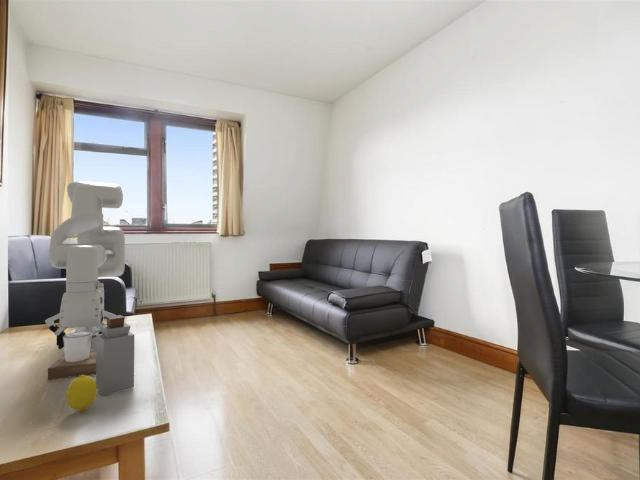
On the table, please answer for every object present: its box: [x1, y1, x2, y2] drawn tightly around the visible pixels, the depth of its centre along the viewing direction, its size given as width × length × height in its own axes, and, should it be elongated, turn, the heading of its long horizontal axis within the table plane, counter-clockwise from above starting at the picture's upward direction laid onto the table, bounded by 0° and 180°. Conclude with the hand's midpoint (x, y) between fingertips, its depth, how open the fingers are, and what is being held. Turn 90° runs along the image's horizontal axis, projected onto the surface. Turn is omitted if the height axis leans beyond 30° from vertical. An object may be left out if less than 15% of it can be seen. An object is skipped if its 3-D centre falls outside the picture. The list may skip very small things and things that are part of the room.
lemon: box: [65, 375, 98, 413], centre depth 73 cm, size 6×6×8 cm
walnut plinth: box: [47, 350, 96, 380], centre depth 97 cm, size 12×12×3 cm
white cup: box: [63, 332, 93, 362], centre depth 96 cm, size 7×7×7 cm
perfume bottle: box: [95, 314, 135, 397], centre depth 85 cm, size 7×7×18 cm
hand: (81, 346), depth 97 cm, fingers open, 9 cm apart
